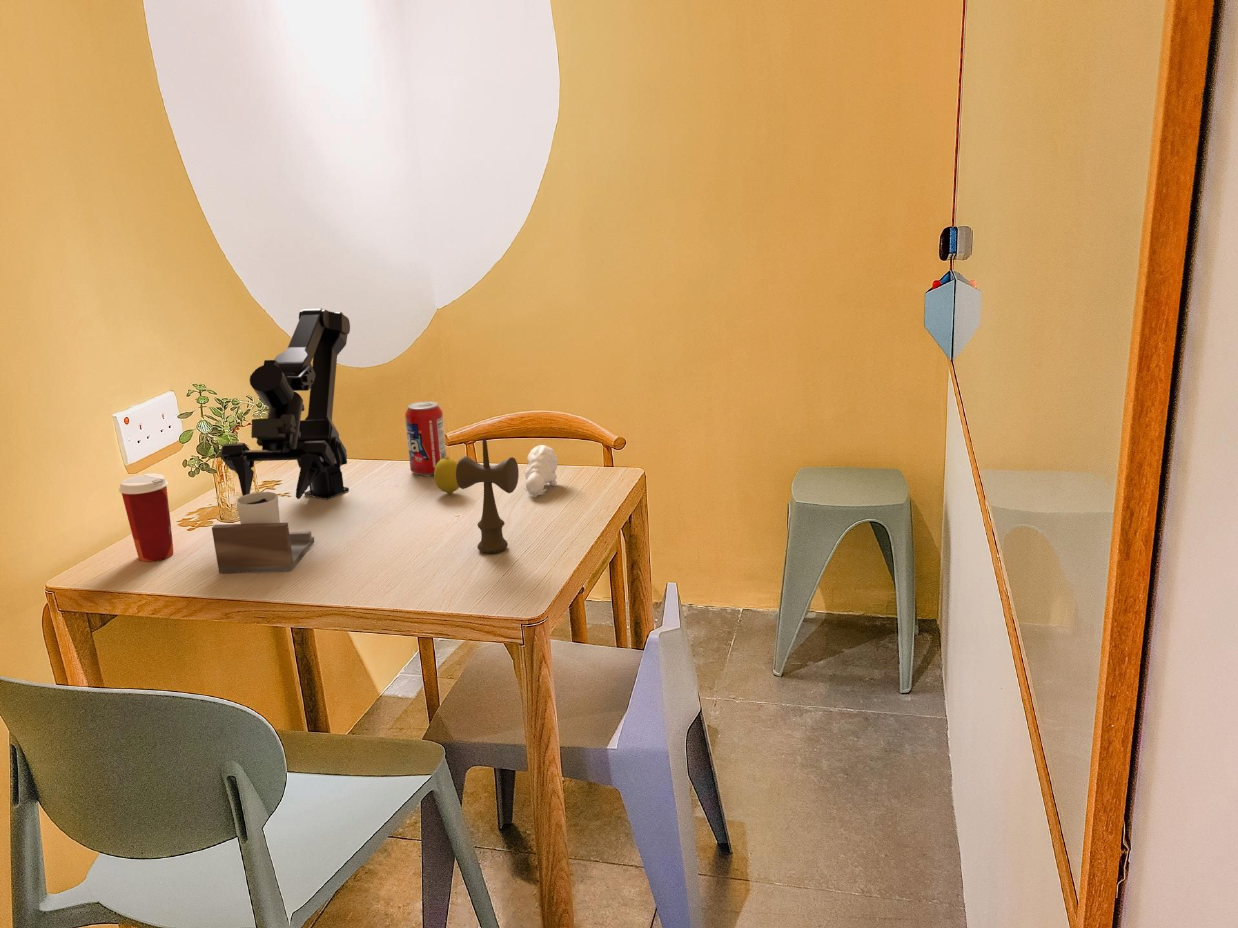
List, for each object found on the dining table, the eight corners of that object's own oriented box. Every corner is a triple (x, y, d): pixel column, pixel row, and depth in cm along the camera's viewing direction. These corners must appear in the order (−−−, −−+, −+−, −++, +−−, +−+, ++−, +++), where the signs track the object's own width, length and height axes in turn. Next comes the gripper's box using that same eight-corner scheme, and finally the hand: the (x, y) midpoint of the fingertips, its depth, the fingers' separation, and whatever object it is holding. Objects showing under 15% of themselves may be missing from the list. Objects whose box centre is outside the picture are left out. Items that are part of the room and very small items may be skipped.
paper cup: (189, 549, 176) (176, 474, 172) (157, 566, 169) (143, 487, 165) (154, 545, 179) (140, 471, 175) (121, 561, 172) (106, 484, 168)
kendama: (512, 558, 167) (504, 443, 162) (459, 554, 170) (449, 441, 164) (525, 545, 173) (518, 433, 167) (474, 541, 176) (465, 431, 170)
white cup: (250, 547, 173) (242, 493, 171) (289, 545, 174) (281, 490, 171) (239, 562, 167) (231, 505, 164) (280, 559, 168) (272, 503, 165)
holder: (247, 544, 178) (240, 501, 176) (314, 542, 178) (308, 499, 176) (219, 573, 166) (211, 527, 163) (291, 571, 165) (284, 525, 163)
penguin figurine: (558, 442, 204) (546, 464, 193) (561, 479, 207) (549, 503, 196) (528, 442, 205) (515, 464, 194) (532, 479, 208) (518, 502, 197)
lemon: (466, 490, 203) (463, 452, 201) (459, 499, 198) (456, 460, 195) (440, 490, 204) (436, 452, 201) (432, 499, 198) (429, 460, 196)
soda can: (450, 474, 214) (444, 406, 209) (413, 479, 211) (407, 410, 207) (444, 465, 221) (438, 398, 216) (408, 469, 218) (401, 402, 214)
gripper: (215, 399, 174) (199, 479, 167) (321, 396, 174) (310, 476, 167) (238, 431, 184) (224, 508, 177) (339, 427, 184) (329, 504, 177)
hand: (271, 498), depth 174 cm, fingers open, 9 cm apart
